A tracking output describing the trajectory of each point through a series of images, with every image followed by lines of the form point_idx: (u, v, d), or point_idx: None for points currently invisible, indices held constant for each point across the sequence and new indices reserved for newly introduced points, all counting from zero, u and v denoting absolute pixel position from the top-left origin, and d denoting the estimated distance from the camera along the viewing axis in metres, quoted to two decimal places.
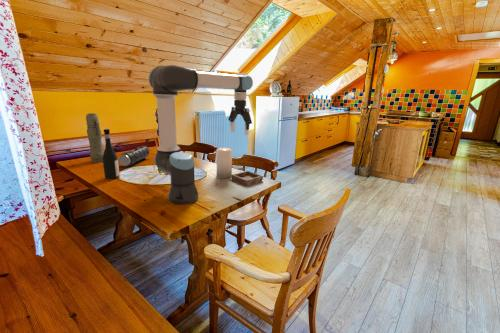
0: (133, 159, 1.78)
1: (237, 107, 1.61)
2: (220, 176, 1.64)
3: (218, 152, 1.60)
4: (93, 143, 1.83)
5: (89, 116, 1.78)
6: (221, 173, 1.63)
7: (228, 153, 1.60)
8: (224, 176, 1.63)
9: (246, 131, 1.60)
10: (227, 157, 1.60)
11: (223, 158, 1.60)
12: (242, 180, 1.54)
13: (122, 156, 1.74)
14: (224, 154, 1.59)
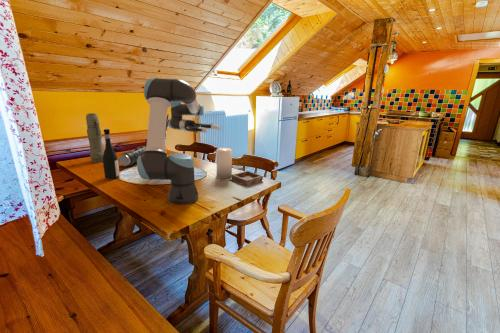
0: (133, 159, 1.78)
1: (192, 124, 1.69)
2: (220, 176, 1.64)
3: (218, 152, 1.60)
4: (93, 143, 1.83)
5: (89, 116, 1.78)
6: (221, 173, 1.63)
7: (228, 153, 1.60)
8: (224, 176, 1.63)
9: None
10: (227, 157, 1.60)
11: (223, 158, 1.60)
12: (242, 180, 1.54)
13: (122, 156, 1.74)
14: (224, 154, 1.59)
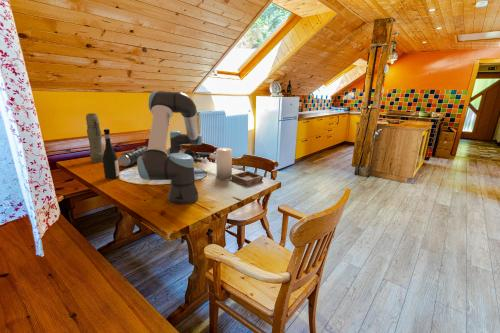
0: (133, 159, 1.78)
1: (191, 154, 1.75)
2: (220, 176, 1.64)
3: (218, 152, 1.60)
4: (93, 143, 1.83)
5: (89, 116, 1.78)
6: (221, 173, 1.63)
7: (228, 153, 1.60)
8: (224, 176, 1.63)
9: None
10: (227, 157, 1.60)
11: (223, 158, 1.60)
12: (242, 180, 1.54)
13: (122, 156, 1.74)
14: (224, 154, 1.59)
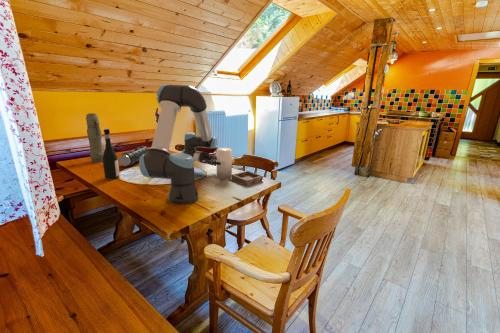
0: (133, 159, 1.78)
1: (206, 157, 1.70)
2: (220, 176, 1.64)
3: (218, 152, 1.60)
4: (93, 143, 1.83)
5: (89, 116, 1.78)
6: (221, 173, 1.63)
7: (228, 153, 1.60)
8: (224, 176, 1.63)
9: None
10: (227, 157, 1.60)
11: (223, 158, 1.60)
12: (242, 180, 1.54)
13: (122, 156, 1.74)
14: (225, 154, 1.59)
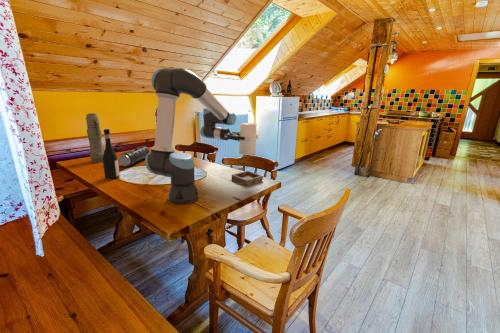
0: (133, 159, 1.78)
1: (227, 133, 1.58)
2: (244, 152, 1.52)
3: (242, 126, 1.49)
4: (93, 143, 1.83)
5: (89, 116, 1.78)
6: (245, 149, 1.51)
7: (253, 127, 1.49)
8: (248, 152, 1.52)
9: None
10: (252, 131, 1.49)
11: (247, 132, 1.48)
12: (242, 180, 1.54)
13: (122, 156, 1.74)
14: (249, 128, 1.48)
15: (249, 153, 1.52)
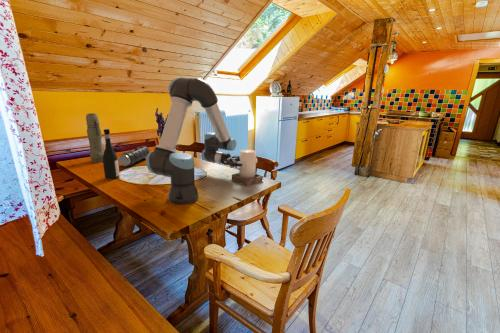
0: (133, 159, 1.78)
1: (228, 158, 1.62)
2: None
3: (242, 154, 1.53)
4: (93, 143, 1.83)
5: (89, 116, 1.78)
6: (245, 176, 1.56)
7: (253, 155, 1.53)
8: None
9: None
10: (251, 159, 1.53)
11: (247, 160, 1.53)
12: (242, 180, 1.54)
13: (122, 156, 1.74)
14: (249, 156, 1.52)
15: None
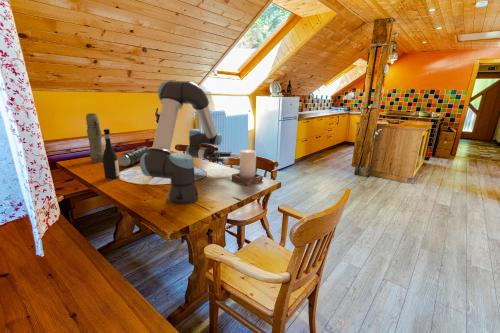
0: (133, 159, 1.78)
1: (211, 153, 1.68)
2: None
3: (242, 154, 1.53)
4: (93, 143, 1.83)
5: (89, 116, 1.78)
6: (245, 176, 1.56)
7: (253, 155, 1.53)
8: None
9: None
10: (252, 159, 1.53)
11: (247, 160, 1.52)
12: (242, 180, 1.54)
13: (122, 156, 1.74)
14: (249, 157, 1.52)
15: None
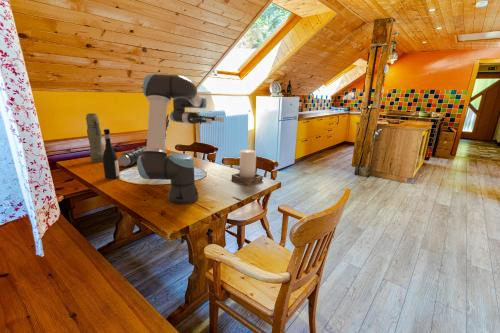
0: (133, 159, 1.78)
1: (195, 116, 1.66)
2: None
3: (242, 154, 1.53)
4: (93, 143, 1.83)
5: (89, 116, 1.78)
6: (245, 176, 1.56)
7: (253, 155, 1.53)
8: None
9: None
10: (252, 159, 1.53)
11: (248, 160, 1.53)
12: (242, 180, 1.54)
13: (122, 156, 1.74)
14: (249, 156, 1.52)
15: None
